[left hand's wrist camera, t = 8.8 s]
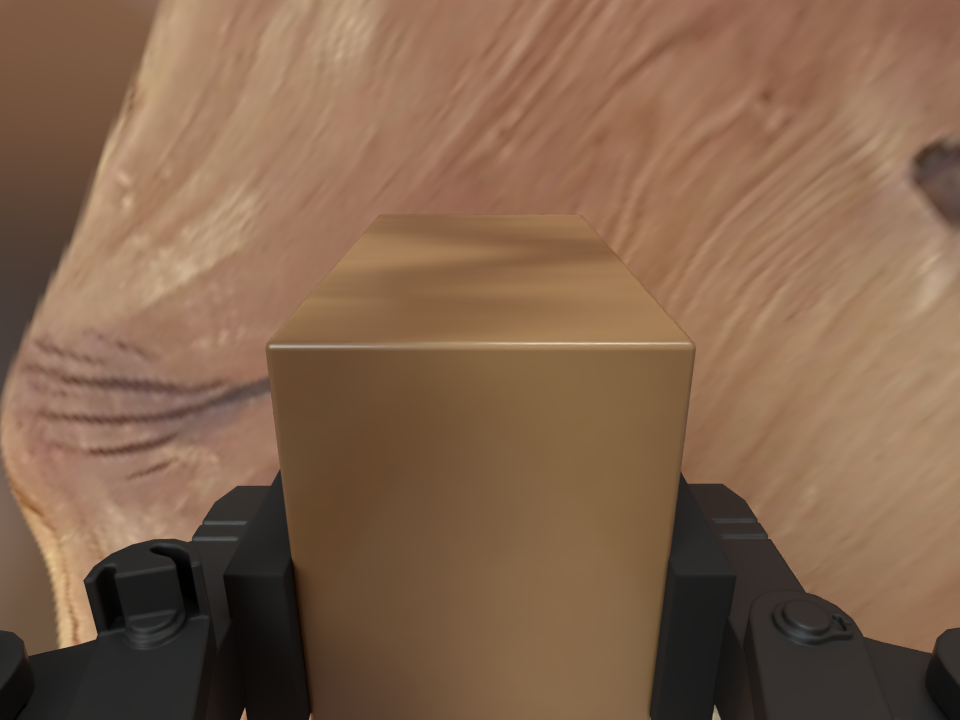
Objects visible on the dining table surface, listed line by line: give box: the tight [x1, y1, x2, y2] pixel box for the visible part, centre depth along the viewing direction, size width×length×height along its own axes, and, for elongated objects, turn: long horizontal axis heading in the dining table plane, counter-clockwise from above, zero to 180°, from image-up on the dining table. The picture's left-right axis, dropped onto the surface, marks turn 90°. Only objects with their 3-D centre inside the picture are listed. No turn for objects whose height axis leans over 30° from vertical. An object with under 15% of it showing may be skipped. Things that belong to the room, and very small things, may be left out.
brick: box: [266, 215, 696, 720], centre depth 13 cm, size 5×8×9 cm, turn 0°
